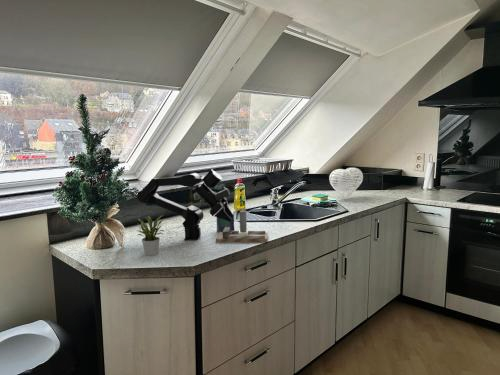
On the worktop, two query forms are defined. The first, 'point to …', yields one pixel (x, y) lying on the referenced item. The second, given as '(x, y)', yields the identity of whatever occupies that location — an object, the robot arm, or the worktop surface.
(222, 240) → the bench
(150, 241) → the house plant
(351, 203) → the worktop surface
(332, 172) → the heart
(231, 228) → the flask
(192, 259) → the worktop surface
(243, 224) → the handle
